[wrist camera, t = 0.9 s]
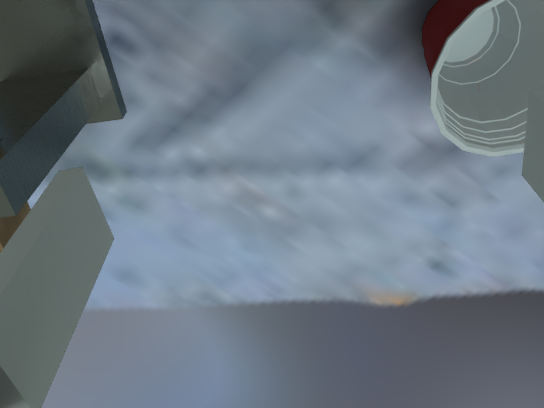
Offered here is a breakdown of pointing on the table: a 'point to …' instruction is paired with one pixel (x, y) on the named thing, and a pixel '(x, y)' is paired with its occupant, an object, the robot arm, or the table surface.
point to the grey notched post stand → (48, 89)
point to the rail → (11, 225)
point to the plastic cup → (484, 70)
